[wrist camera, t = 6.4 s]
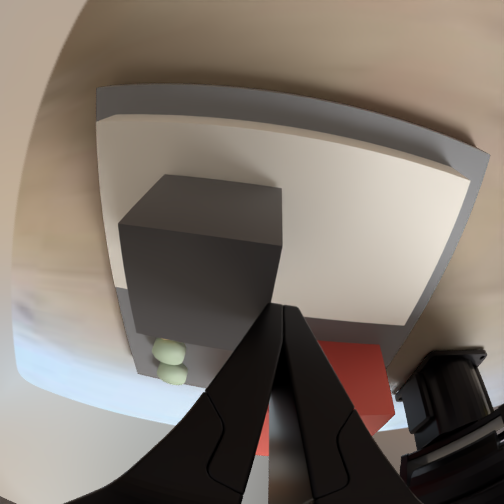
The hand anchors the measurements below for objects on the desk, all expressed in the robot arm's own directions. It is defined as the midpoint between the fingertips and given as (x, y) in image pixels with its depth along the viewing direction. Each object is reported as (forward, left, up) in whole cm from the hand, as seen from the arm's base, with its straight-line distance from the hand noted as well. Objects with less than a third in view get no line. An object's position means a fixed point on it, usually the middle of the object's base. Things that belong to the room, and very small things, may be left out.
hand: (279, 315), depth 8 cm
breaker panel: (0, +4, -7) cm, 8 cm away
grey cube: (+2, 0, -4) cm, 4 cm away
